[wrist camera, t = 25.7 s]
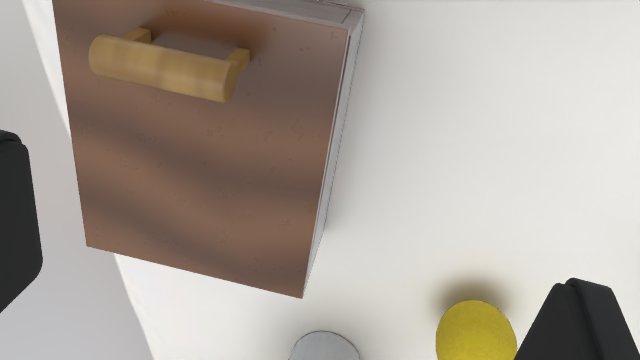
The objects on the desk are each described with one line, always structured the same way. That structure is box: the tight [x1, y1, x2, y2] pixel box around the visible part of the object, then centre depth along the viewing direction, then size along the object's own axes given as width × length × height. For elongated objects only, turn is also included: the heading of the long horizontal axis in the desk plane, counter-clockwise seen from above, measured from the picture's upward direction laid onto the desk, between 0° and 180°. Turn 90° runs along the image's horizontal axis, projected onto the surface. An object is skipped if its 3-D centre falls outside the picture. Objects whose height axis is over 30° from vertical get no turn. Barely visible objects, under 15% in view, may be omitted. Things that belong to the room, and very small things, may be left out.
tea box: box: [226, 0, 365, 288], centre depth 33 cm, size 17×15×7 cm
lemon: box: [436, 300, 517, 360], centre depth 37 cm, size 6×6×8 cm
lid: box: [52, 0, 351, 299], centre depth 28 cm, size 17×15×5 cm
